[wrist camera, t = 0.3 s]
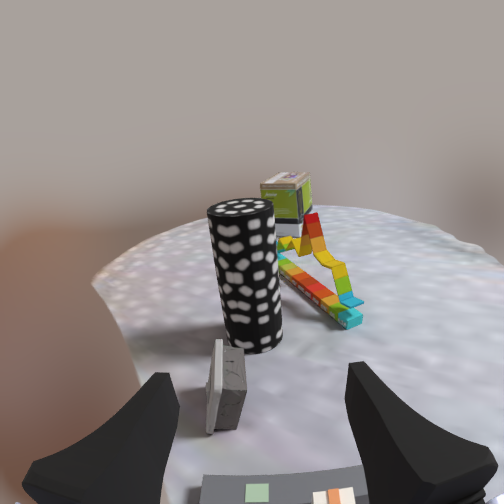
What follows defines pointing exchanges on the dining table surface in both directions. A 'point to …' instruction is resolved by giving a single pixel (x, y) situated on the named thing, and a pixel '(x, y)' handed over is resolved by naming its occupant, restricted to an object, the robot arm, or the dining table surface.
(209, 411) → the electrical switch
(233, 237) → the white-spotted black cylinder
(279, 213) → the tea box
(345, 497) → the block
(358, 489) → the panel
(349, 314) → the chart
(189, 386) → the dining table surface
